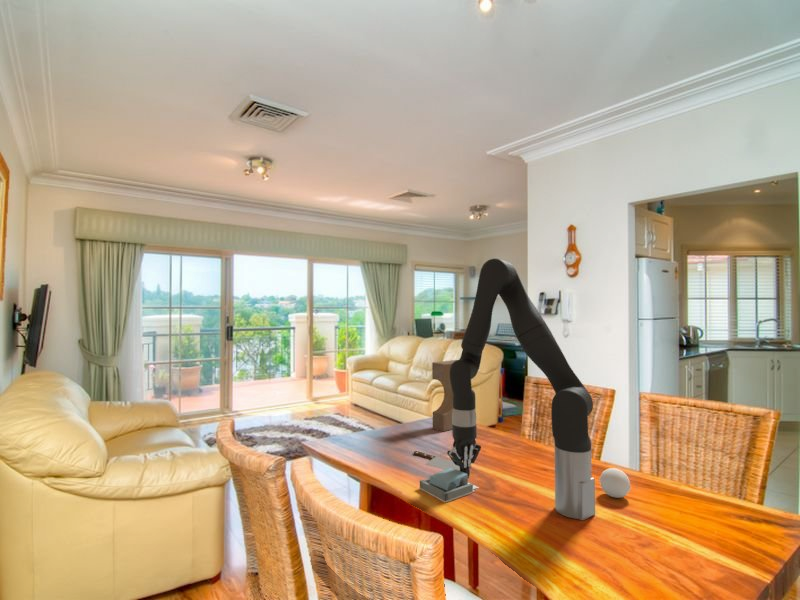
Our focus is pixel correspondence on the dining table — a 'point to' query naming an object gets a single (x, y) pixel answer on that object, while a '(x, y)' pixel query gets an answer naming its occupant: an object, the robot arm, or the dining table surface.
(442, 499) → the dock
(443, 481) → the pale blue lipped slab
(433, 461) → the kitchen cleaver
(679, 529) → the dining table surface
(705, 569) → the dining table surface
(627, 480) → the ball
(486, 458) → the dining table surface
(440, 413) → the decorative block
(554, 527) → the dining table surface
